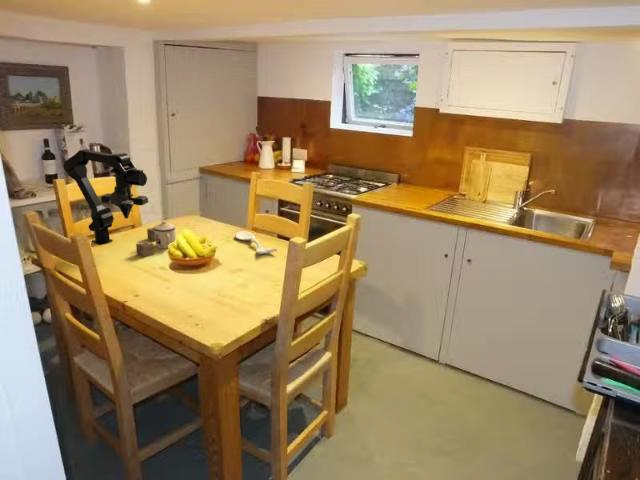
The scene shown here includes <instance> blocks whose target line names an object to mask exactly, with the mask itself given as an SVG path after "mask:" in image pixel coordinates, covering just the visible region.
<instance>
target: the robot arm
mask: <svg viewBox="0 0 640 480" xmlns="http://www.w3.org/2000/svg"><path fill="white" fill-rule="evenodd" d="M90 161H91V162H97V163H101V164H105V165H108V166H109V167H111V168H112V169H111V170H109V172H110V173H111V174H114V179H115V180H114V181H115V186H114V191H113V192H112V193H106V194H104V195H102V196H101V198H99V197H98V195H97V193H96V191H95V189H94V187H93V185H92V184H91V182H90V180H89V178H88V169H87V164H88V163H89V162H90ZM62 167H63V170H64V171H65V173H66V174H67V176H68V177H70V178H71V179H72V180H74V181H75V182H76V184H77V186H78V188H79V190H80V192H81V195H83V197H84V199H85V201H86V203H87V205H88V206H89V208H90V210H91V212H90V218H91V220H92V222H91V223H90V224H89V225H88V230H89V231H91V232H93V233H94V239H93V240H91V242H92V243H94V244H97V245H104V244H108V243H111V242H113V241H114V240H113V239H111V238H110V232H109V228H111V227H112V226H113V223H114V220H115V218H114V214H113V212H112V210H111V208H110V207H108V206H107V207H106V206H104V205H103V204H109V202H110V203H111V205H114V206H116V207H117V208H119V209H120V211H121V213H122V215H123V217H124V219H125V220H126V219H129V217H130V213H131V210H132V208H133V207H134V205H135V206H144V205H146V204H148V203H149V198H148V196H146V195H137V196H136V197H135V196H134V194H133V193H132V189H131V188H133V186H139V187H144V186H146V184H147V182H148V177H147V174H146V173H145V172H144V169H137V167H136V165H135V164H134V162H133V161H132V159H131V158H130V156H129V154H128V153H124V152H123V153H121V152H120V153H118V152H117V153H107V152H103V151H97V150H96V151H95V150H91V149H88V148H84V149H79V150H77V152H76V153H75V154H73V155H72V156H70V157H69V158H68V159H67V160H65V161H64V162H63V166H62Z"/></svg>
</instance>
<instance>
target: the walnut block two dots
mask: <svg viewBox="0 0 640 480" xmlns="http://www.w3.org/2000/svg"><path fill="white" fill-rule="evenodd" d="M135 248H136V255H137V256H138V257H141V258H144V259H145V258H149V257H151V256H154V255H155V245H154V243H152V242H149V241H147V240H146V241H142V242H139V243H136V244H135Z"/></svg>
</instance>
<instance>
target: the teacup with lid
mask: <svg viewBox="0 0 640 480" xmlns="http://www.w3.org/2000/svg"><path fill="white" fill-rule="evenodd" d="M154 230H155V239H156V241H155V246H156V248H158V249H163V250H165V249H169V248H168V245H169V244H170V243H172V242H174V241H175V240H176V226H175V224H172V223H170V222H168V221H167V220H162V221H161V223H159V224H156V225H155V226H154Z"/></svg>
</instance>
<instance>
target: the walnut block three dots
mask: <svg viewBox="0 0 640 480" xmlns="http://www.w3.org/2000/svg"><path fill="white" fill-rule="evenodd" d="M154 227H155V226H154ZM154 227H150V228H147V230H146V232H147V240H150V241H152V242H156V239H155V230H154Z"/></svg>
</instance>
